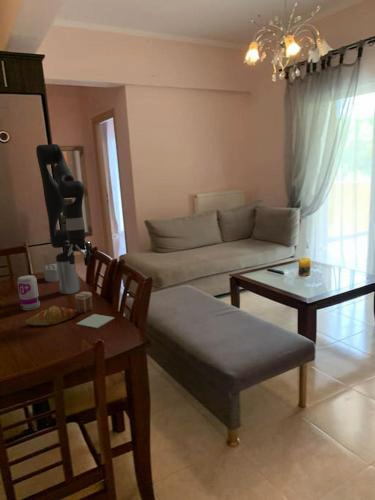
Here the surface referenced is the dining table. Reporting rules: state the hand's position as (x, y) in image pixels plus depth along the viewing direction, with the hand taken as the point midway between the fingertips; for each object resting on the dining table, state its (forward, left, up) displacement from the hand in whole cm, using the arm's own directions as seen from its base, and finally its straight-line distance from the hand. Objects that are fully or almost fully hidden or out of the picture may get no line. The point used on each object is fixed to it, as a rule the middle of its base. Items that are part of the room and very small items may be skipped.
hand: (79, 264), depth 163 cm
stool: (0, 0, -21) cm, 21 cm away
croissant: (+14, -5, -22) cm, 26 cm away
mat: (+8, +13, -21) cm, 26 cm away
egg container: (-35, -56, -22) cm, 70 cm away
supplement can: (+6, -28, -22) cm, 36 cm away
